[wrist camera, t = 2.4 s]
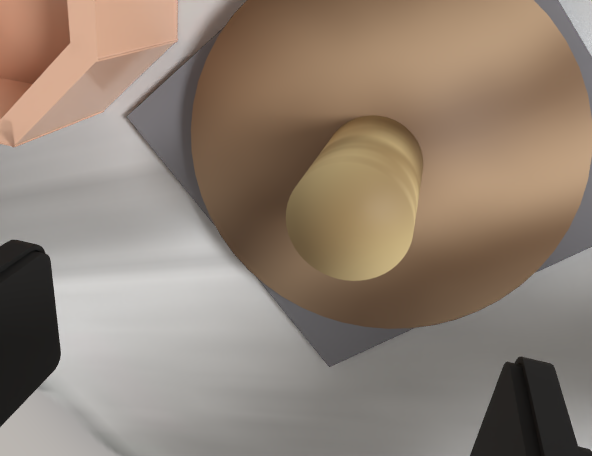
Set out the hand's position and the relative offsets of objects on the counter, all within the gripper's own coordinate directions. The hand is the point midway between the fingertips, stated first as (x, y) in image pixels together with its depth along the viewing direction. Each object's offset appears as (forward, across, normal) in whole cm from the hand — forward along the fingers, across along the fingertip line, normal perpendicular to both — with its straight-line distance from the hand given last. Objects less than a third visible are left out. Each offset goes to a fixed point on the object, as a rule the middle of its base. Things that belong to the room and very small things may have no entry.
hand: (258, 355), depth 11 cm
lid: (+14, -1, 0) cm, 14 cm away
